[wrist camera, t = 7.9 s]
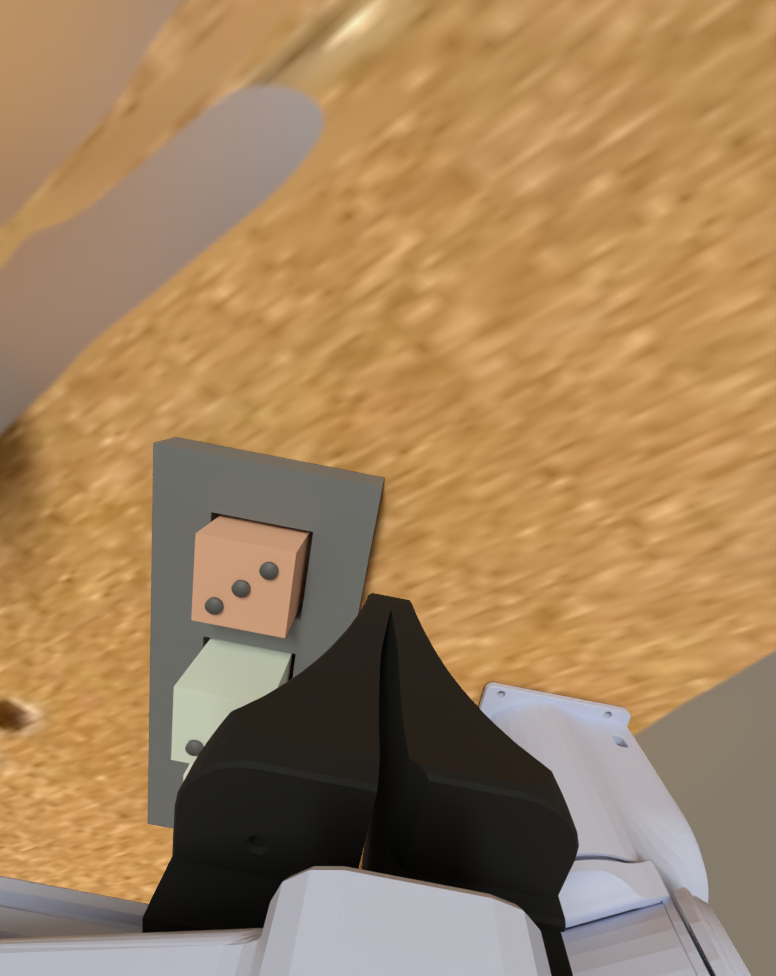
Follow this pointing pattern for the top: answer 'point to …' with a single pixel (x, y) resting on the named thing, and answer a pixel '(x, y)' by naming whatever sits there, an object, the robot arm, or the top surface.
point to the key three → (249, 574)
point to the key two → (221, 690)
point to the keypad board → (260, 497)
